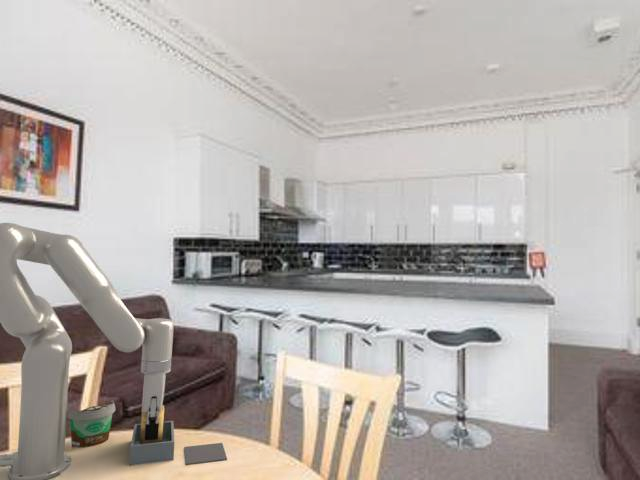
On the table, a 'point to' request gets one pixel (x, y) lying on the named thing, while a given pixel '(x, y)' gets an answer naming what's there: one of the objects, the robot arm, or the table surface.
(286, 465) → the table surface
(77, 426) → the food container
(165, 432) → the slate open box
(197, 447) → the gray square plate
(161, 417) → the mustard cylinder
